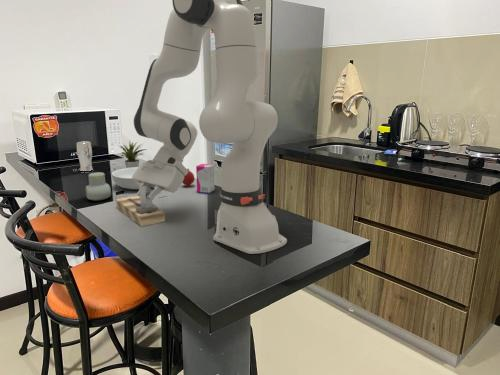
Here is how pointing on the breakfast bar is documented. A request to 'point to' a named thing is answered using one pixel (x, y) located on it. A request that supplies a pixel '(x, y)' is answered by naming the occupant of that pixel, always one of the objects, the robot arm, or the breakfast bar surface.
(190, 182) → the onion
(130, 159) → the house plant
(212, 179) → the supplement box
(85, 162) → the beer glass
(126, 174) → the serving bowl
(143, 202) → the grey upright piece
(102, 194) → the air freshener
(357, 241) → the breakfast bar surface
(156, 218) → the tan flat bar
